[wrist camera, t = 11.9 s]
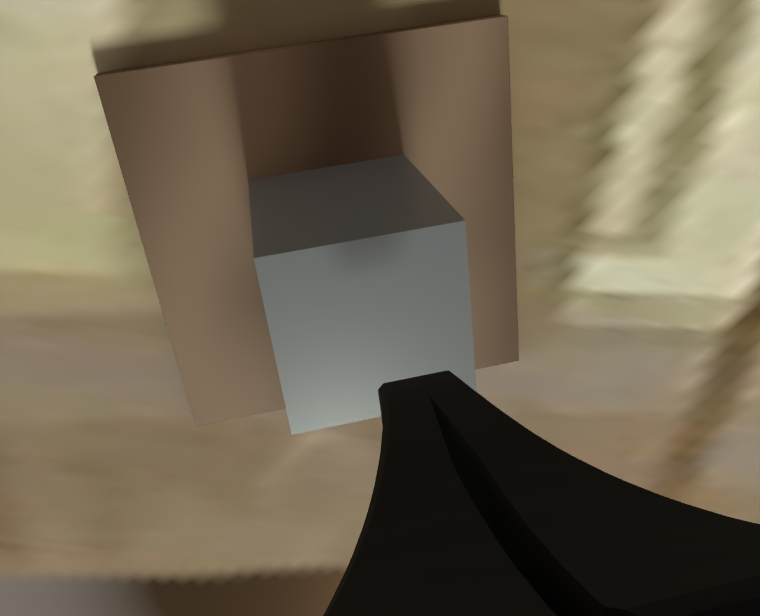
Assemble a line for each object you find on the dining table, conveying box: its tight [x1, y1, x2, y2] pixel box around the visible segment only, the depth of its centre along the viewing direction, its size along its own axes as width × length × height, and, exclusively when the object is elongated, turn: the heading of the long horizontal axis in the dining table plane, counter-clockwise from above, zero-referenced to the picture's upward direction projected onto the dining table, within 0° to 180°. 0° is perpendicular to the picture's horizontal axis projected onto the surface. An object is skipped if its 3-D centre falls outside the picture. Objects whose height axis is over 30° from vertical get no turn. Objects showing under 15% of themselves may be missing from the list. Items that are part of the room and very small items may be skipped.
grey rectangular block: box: [248, 155, 476, 435], centre depth 18 cm, size 4×4×6 cm
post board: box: [94, 15, 519, 427], centre depth 19 cm, size 11×11×6 cm
